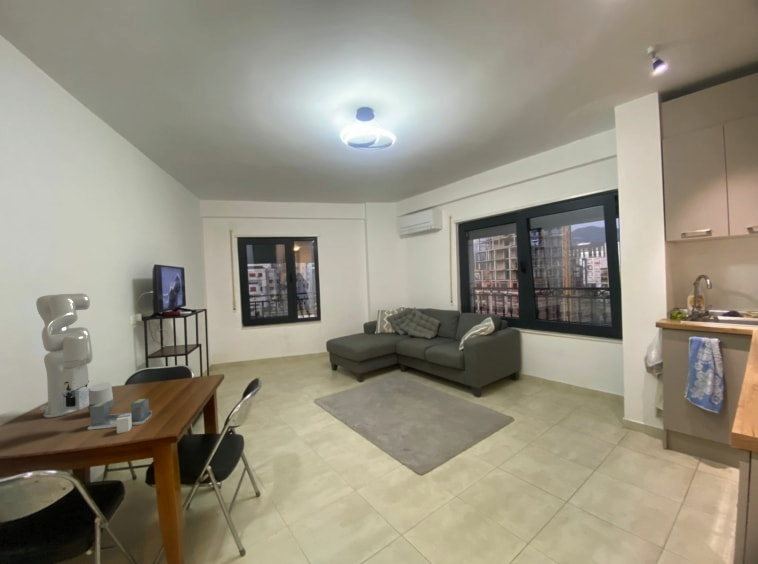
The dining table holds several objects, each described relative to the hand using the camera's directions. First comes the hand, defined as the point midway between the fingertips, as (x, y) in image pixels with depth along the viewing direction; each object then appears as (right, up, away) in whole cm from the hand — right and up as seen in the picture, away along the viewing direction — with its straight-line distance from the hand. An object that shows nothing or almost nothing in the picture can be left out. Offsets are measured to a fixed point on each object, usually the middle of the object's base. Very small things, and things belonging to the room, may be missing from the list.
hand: (76, 403), depth 139 cm
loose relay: (+24, -11, -3) cm, 27 cm away
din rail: (+17, -11, +4) cm, 20 cm away
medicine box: (0, -2, 0) cm, 2 cm away
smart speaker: (-4, -12, +18) cm, 21 cm away
